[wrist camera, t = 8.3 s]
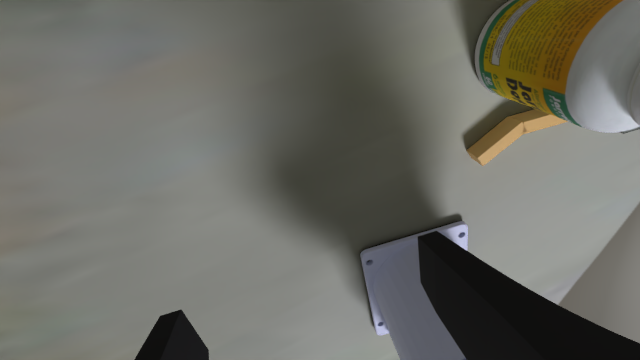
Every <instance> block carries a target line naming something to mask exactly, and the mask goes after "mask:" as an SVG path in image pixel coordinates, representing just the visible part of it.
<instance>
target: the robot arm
mask: <svg viewBox="0 0 640 360" xmlns="http://www.w3.org/2000/svg"><path fill="white" fill-rule="evenodd" d="M460 233H461V234H460ZM467 246H468V226H467V224H466V223H465V222H463V221H459V222H456V223H452V224H449V225H446V226H442V227H439V228H435V229H432V230H429V231H425V232H422V233H419V234H415V235H412V236H409V237H405V238H402V239H398V240H395V241H392V242H388V243H385V244H382V245H378V246H375V247H372V248H368V249H365V250H363V251H362V252H361V254H360V257H361V262H362V267H363V272H364V277H365V282H366V287H367V292H368V297H369V302H370V307H371V312H372V317H373V322H374V327H375V331H376V333H377V335H384V334H387V333H389V334H390V336H391V338H392V341H393V343H394V346H395V348H396V350H397V353H398V355H399V357H400V360H640V344H639V343H637V342H635V341H633V340H630V339H628V338H626V337H623V336H621V335H618V334H616V333H614V332H612V331H610V330H607V329H605V328H603V327H601V326H599V325H596V324H595V323H593V322H591V321H588V320H586V319H584V318H582V317H580V316H578V315H576V314H574V313H572V312H570V311H568V310H566V309H564V308H562V307H560V306H558V305H557V304H555V303H553V302H551V301H549V300H547V299H546V298H544V297H542V296H540V295H538V294H537V293H535V292H533V291H531V290H529V289H528V288H526V287H524V286H522V285H521V284H519V283H517V282H516V281H514V280H512V279H511V278H509V277H507V276H506V275H504V274H502V273H501V272H499V271H498V270H496V269H494V268H493V267H491V266H489V265H488V264H486V263H485V262H483V261H482V260H480V259H479V258H477V257H476V256H474V255H472V254H471V253H469V252H468V251H467ZM368 260H370V261H368ZM367 261H368V262H367ZM135 360H209V352H208V349H207V347H206V346H205V344H204V343H203V341H202V340H201V338H200V337H199V335H198V334H197V332H196V331H195V329H194V328H193V326H192V325H191V323H190V322H189V320H188V319H187V317H186V316H185V314H184V313H183V311H182V310H178V311H175V312H172V313H169V314H165V315H162V316H160V317H159V319H158V321H157V322H156V324H155V326H154V327H153V329H152V331H151V332H150V334H149V336H148V337H147V339H146V341H145V343H144V344H143V346H142V348H141V349H140V351H139V353H138V355H137V356H136V358H135Z"/></svg>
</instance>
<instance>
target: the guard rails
mask: <svg viewBox="0 0 640 360" xmlns="http://www.w3.org/2000/svg"><path fill="white" fill-rule="evenodd" d="M565 122H568V121H566V120H563V119H561V118H558V117H556V116H553V115H550V114H547V113H545V112H542V111H540V110H536V109H534V110H530V111H526V112H523V113H519V114H516V115H512V116H508V117H506V118H505V119H504V120H503V121H501V122H500V123H499V124H498V125H497V126H495V127H494V128H493V129H492V130H491V131H489V132H488V133H487V134H486V135H484V136H483V137H482V138H481V139H480V140H478V141H477V142H476V143H475V144H474V145H472V146H471V147H470V148H469V149H467V150H466V151H467V152H468V154H469V155H470V156H471V158H472V159H474V160H475V161H477V162H478V163H479V164H481V165H482V166H484V165H485V164H486V163H488V162H489V161H490V160H491V159H493V158H494V157H495V156H496V155H498V154H499V153H500V152H501V151H503V150H504V149H505V148H506V147H508V146H509V145H510V144H511V143H513V142H514V141H515V140H516V139H518V138H519V137H520V136H521V135H523V134H526V133H529V132H533V131H536V130H540V129H544V128H547V127H551V126H554V125H558V124H561V123H565Z"/></svg>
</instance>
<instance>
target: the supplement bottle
mask: <svg viewBox="0 0 640 360" xmlns="http://www.w3.org/2000/svg"><path fill="white" fill-rule="evenodd" d="M475 67H476V72H477V75H478V78H479V80H480V82H481V83H482V85H483V86H484V87H485V88H486V89H488V90H489V91H491V92H493V93H495V94H497V95H500V96H502V97H505V98H508V99H510V100H513V101H516V102H518V103H520V104H523V105H526V106H529V107H531V108H534V109H536V110H540V111H542V112H545V113H547V114H550V115H553V116H556V117H558V118H561V119H563V120H566V121H568V122H571V123H573V124H576V125H578V126H581V127H583V128H587V129H590V130H594V131H598V132H606V133H613V132H622V131H627V130H631V129H634V128H637V127H640V0H510V1H508V2H506V3H505V4H504V5H502V6H501V7H500V8H499V9H497V10H496V11H495V13H494V14H493V15H492V16H491V17H490V18H489V20H488V21H487V23H486V24H485V26H484V28H483V29H482V31H481V34H480V36H479V38H478V42H477V45H476V50H475Z"/></svg>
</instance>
